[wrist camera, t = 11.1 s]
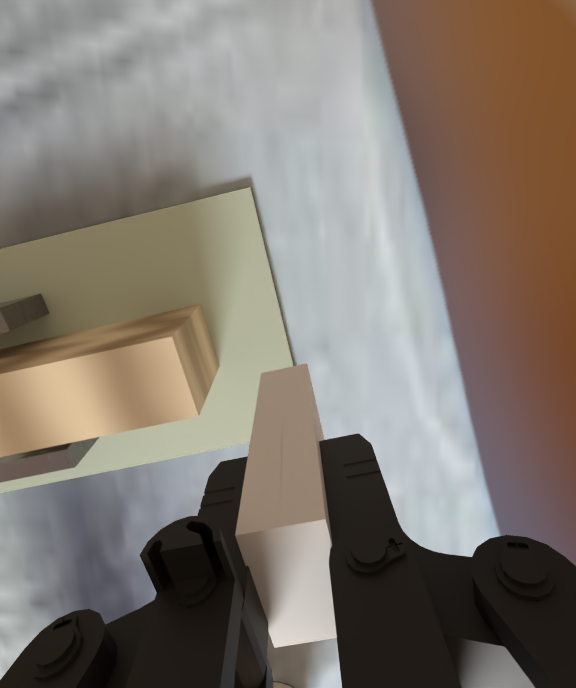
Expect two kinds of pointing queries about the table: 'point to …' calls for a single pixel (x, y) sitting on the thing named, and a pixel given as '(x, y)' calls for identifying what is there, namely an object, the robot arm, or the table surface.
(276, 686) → the coffee cup
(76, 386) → the pine slat
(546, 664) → the robot arm
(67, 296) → the sage board
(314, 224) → the table surface
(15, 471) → the open saddle
